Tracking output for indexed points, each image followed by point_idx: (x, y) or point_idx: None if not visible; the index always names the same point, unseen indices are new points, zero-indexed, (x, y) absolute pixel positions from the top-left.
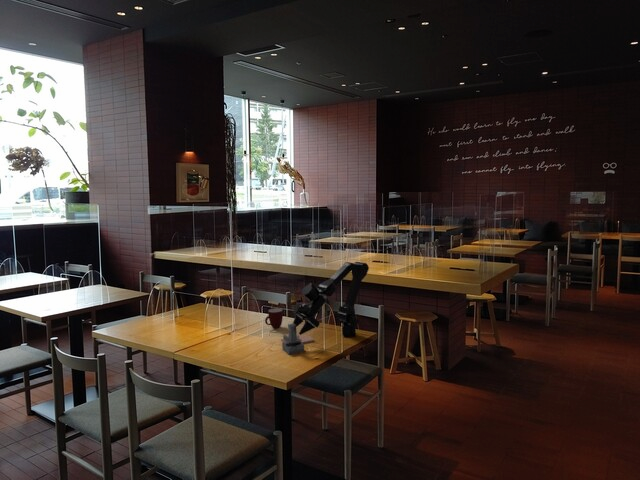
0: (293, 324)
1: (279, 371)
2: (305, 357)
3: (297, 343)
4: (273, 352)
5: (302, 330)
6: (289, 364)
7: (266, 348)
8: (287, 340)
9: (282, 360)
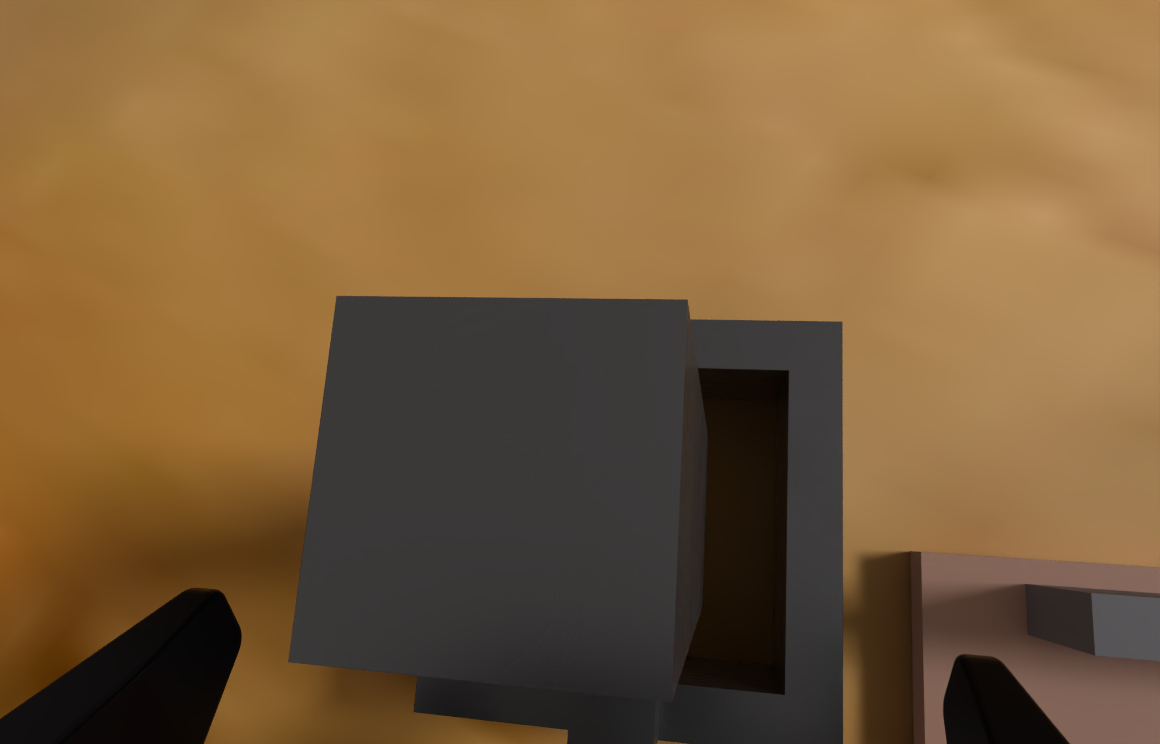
0: (461, 570)
1: (72, 4)
2: (224, 542)
3: (701, 678)
4: (790, 168)
5: (26, 732)
6: (167, 199)
7: (1091, 127)
8: (1095, 590)
9: (362, 169)
